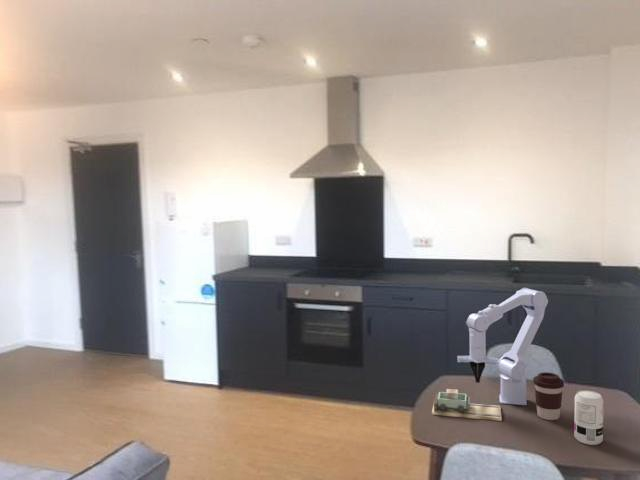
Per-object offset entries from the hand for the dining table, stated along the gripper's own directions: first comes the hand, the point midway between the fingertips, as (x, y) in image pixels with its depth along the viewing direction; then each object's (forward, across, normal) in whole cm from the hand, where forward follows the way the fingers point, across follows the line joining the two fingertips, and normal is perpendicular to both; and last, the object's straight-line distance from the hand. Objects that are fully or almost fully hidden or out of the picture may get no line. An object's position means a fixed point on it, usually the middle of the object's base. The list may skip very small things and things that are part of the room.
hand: (477, 381), depth 196 cm
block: (+6, -9, -6) cm, 12 cm away
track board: (+9, -4, -6) cm, 12 cm away
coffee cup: (+10, +24, -4) cm, 26 cm away
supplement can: (+10, +34, -20) cm, 41 cm away
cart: (+8, -8, -6) cm, 13 cm away
